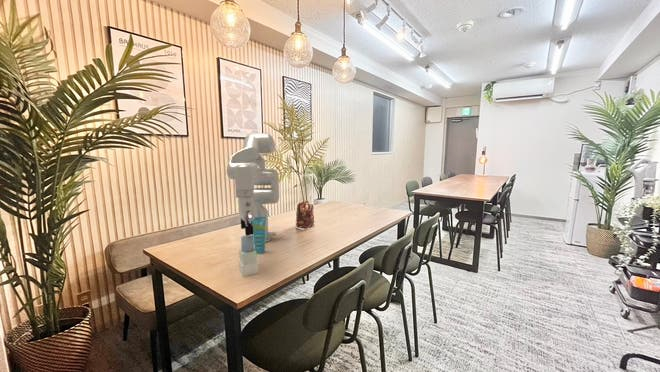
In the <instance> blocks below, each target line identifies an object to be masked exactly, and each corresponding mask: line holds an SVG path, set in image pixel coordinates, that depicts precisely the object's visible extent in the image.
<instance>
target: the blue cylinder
mask: <svg viewBox="0 0 660 372" xmlns="http://www.w3.org/2000/svg"><path fill="white" fill-rule="evenodd" d="M240 241H241V242H240V243H241V249H242V252H252V251H254V249H255V244H254V239H253V236H252V235H246V234H245V235H242V236H241V237H240Z"/></svg>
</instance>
